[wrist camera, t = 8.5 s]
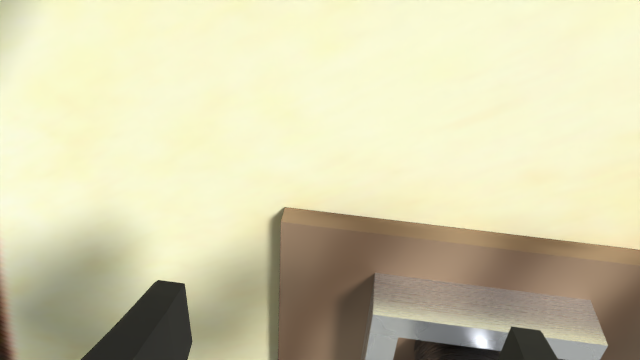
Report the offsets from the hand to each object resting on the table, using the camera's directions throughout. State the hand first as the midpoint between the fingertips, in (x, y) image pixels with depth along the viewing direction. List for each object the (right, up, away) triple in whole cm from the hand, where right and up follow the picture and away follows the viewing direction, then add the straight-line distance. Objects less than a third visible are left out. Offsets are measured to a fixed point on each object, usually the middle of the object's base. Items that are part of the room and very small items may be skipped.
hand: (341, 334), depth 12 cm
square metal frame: (+6, -5, +14) cm, 16 cm away
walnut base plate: (+7, -5, +15) cm, 17 cm away
